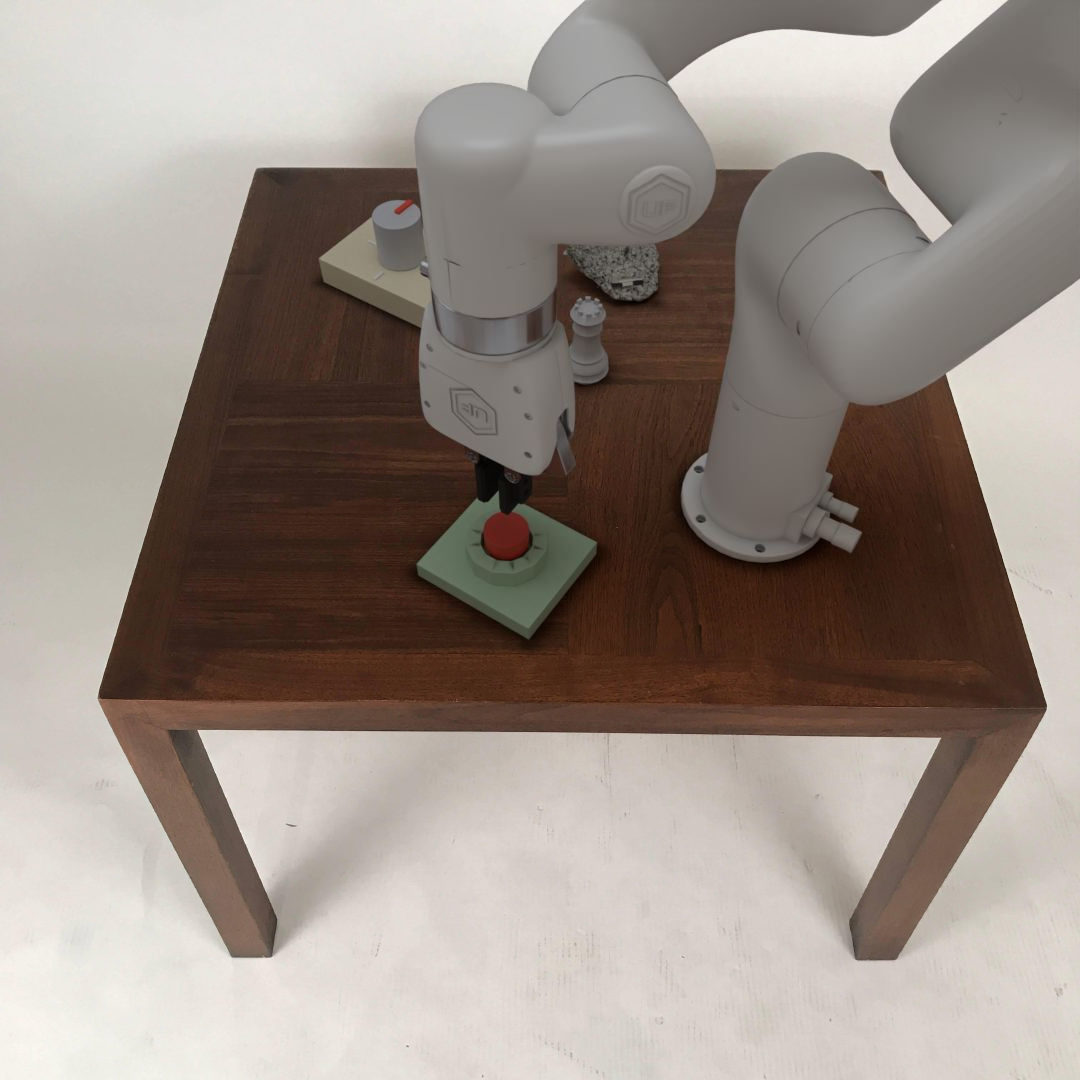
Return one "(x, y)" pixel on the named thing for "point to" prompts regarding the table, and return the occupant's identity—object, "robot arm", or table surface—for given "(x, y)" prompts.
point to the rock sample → (619, 268)
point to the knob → (399, 235)
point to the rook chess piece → (588, 342)
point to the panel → (375, 276)
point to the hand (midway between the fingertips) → (504, 494)
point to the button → (506, 536)
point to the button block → (508, 566)
